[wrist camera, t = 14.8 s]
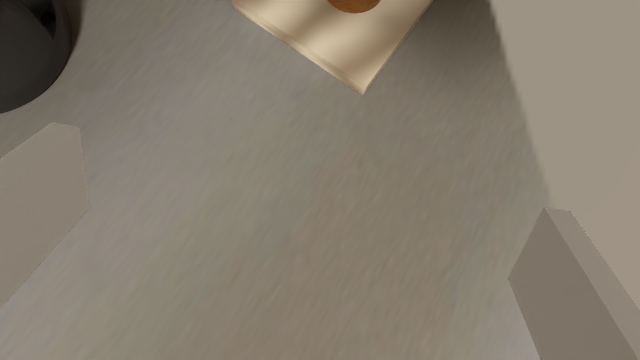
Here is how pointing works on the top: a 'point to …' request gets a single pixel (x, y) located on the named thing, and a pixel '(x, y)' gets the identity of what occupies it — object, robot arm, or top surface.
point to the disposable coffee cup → (354, 5)
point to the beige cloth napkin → (339, 33)
